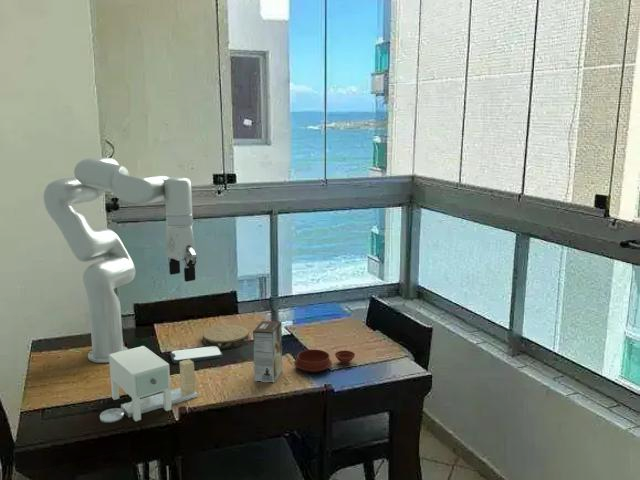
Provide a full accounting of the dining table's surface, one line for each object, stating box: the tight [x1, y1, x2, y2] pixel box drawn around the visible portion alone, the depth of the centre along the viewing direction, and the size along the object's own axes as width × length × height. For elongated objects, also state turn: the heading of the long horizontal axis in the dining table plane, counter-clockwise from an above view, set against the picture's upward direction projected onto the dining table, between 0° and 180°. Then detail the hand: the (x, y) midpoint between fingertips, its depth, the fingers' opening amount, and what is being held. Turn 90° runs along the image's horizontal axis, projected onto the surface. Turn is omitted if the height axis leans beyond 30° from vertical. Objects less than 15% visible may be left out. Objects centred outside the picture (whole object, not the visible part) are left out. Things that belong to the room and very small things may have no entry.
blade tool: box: [120, 359, 198, 418], centre depth 161 cm, size 6×20×10 cm, turn 126°
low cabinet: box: [108, 345, 173, 422], centre depth 159 cm, size 18×10×13 cm, turn 39°
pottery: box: [294, 349, 356, 373], centre depth 185 cm, size 12×20×4 cm, turn 113°
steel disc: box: [99, 407, 125, 424], centre depth 154 cm, size 6×6×1 cm
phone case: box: [169, 346, 223, 365], centre depth 193 cm, size 9×2×16 cm
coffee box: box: [252, 320, 283, 384], centre depth 177 cm, size 9×6×16 cm
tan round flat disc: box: [202, 324, 249, 349], centre depth 207 cm, size 16×16×3 cm
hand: (182, 277), depth 175 cm, fingers open, 9 cm apart
